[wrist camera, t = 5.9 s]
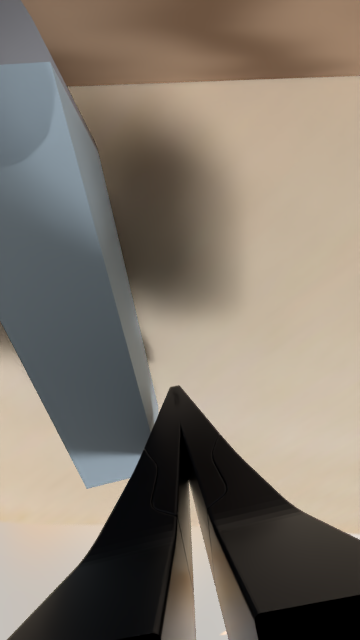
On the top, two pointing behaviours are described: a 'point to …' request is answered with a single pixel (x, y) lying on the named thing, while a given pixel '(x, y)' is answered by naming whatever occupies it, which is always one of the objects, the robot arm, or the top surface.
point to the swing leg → (66, 265)
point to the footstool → (198, 39)
